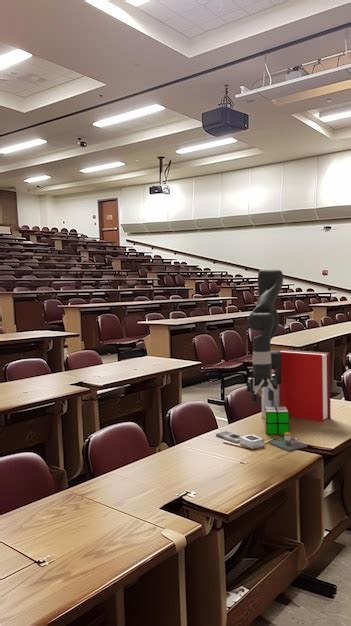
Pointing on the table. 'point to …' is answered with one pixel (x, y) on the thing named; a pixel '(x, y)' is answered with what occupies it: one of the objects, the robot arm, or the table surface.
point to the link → (252, 441)
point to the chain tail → (229, 436)
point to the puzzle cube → (276, 420)
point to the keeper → (287, 443)
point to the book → (306, 384)
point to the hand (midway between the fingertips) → (262, 401)
